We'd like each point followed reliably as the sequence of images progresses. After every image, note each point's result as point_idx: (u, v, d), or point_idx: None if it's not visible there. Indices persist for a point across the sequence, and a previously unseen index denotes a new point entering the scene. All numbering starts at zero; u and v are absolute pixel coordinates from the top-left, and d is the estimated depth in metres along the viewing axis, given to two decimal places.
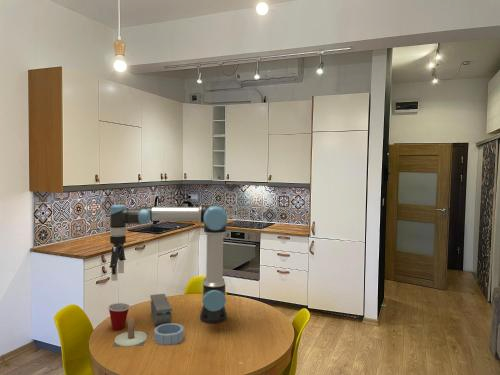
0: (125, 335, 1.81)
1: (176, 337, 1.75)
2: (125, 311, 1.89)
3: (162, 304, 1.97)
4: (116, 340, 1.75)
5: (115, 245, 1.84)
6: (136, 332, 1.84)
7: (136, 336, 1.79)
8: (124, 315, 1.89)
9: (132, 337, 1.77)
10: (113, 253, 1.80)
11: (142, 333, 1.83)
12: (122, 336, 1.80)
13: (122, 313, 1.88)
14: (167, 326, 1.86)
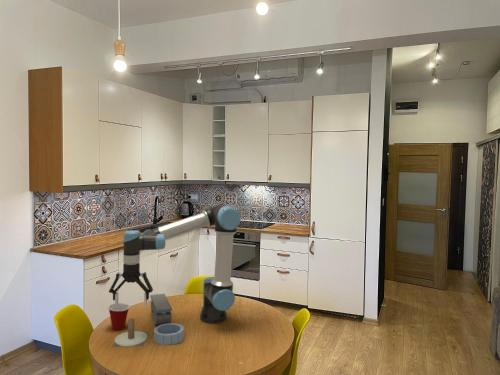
0: (125, 335, 1.81)
1: (176, 337, 1.75)
2: (125, 311, 1.89)
3: (162, 304, 1.97)
4: (116, 340, 1.75)
5: None
6: (136, 332, 1.84)
7: (136, 336, 1.79)
8: (124, 315, 1.89)
9: (132, 337, 1.77)
10: None
11: (142, 333, 1.83)
12: (122, 336, 1.80)
13: (122, 313, 1.88)
14: (167, 326, 1.86)
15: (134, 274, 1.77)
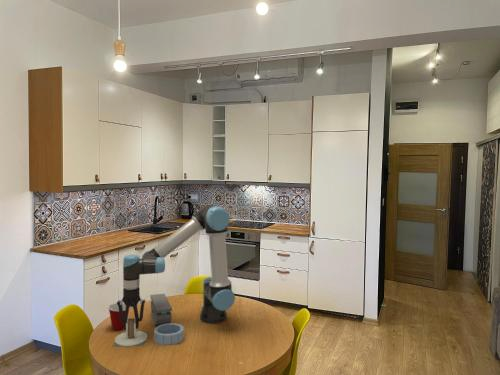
0: (125, 335, 1.81)
1: (176, 337, 1.75)
2: None
3: (162, 304, 1.97)
4: (116, 340, 1.75)
5: None
6: None
7: (136, 336, 1.80)
8: (124, 315, 1.89)
9: (132, 337, 1.77)
10: None
11: (142, 333, 1.83)
12: (122, 336, 1.80)
13: None
14: (167, 326, 1.86)
15: (135, 297, 1.77)
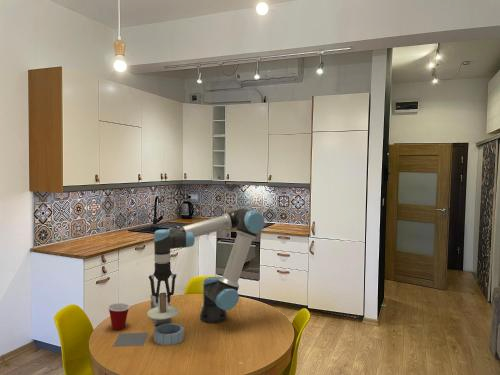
0: (157, 309, 1.83)
1: (176, 337, 1.75)
2: (125, 311, 1.89)
3: None
4: (149, 314, 1.77)
5: None
6: None
7: (168, 310, 1.81)
8: (124, 315, 1.89)
9: (164, 311, 1.79)
10: None
11: (173, 307, 1.85)
12: (154, 310, 1.81)
13: (122, 313, 1.88)
14: (167, 326, 1.86)
15: (166, 271, 1.78)
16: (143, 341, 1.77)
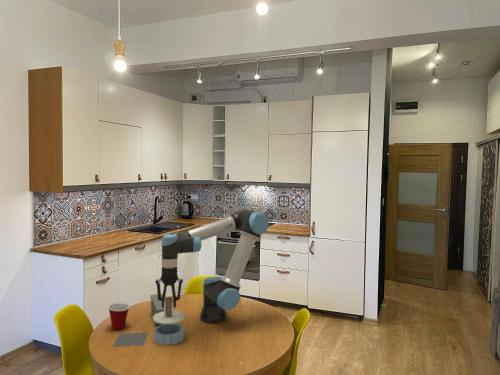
0: (162, 314, 1.82)
1: (176, 337, 1.75)
2: (125, 311, 1.89)
3: None
4: (154, 318, 1.77)
5: None
6: None
7: (174, 315, 1.81)
8: (124, 315, 1.89)
9: (170, 316, 1.79)
10: (157, 286, 1.79)
11: (179, 312, 1.85)
12: (159, 315, 1.81)
13: (122, 313, 1.88)
14: (167, 326, 1.86)
15: (173, 276, 1.78)
16: (143, 341, 1.77)
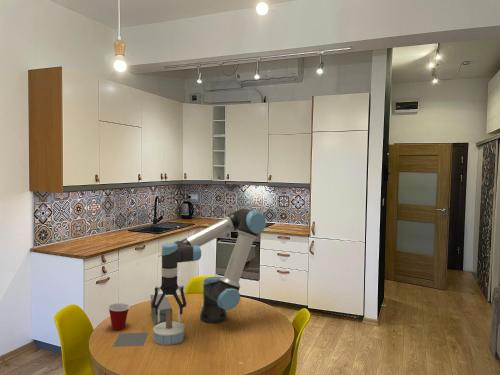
0: (163, 325, 1.83)
1: (176, 337, 1.75)
2: (125, 311, 1.89)
3: (162, 304, 1.97)
4: (155, 330, 1.77)
5: (161, 285, 1.79)
6: (173, 322, 1.86)
7: (174, 326, 1.81)
8: (124, 315, 1.89)
9: (170, 327, 1.79)
10: (155, 293, 1.79)
11: (179, 323, 1.85)
12: (160, 326, 1.81)
13: (122, 313, 1.88)
14: None
15: (172, 286, 1.79)
16: (143, 341, 1.77)
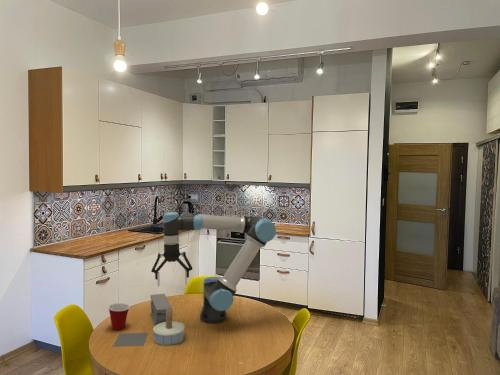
0: (163, 325, 1.83)
1: (176, 337, 1.75)
2: (125, 311, 1.89)
3: (162, 304, 1.97)
4: (155, 330, 1.77)
5: (164, 252, 1.85)
6: (173, 322, 1.86)
7: (174, 326, 1.81)
8: (124, 315, 1.89)
9: (170, 327, 1.79)
10: None
11: (179, 323, 1.85)
12: (160, 326, 1.81)
13: (122, 313, 1.88)
14: None
15: (175, 253, 1.85)
16: (143, 341, 1.77)
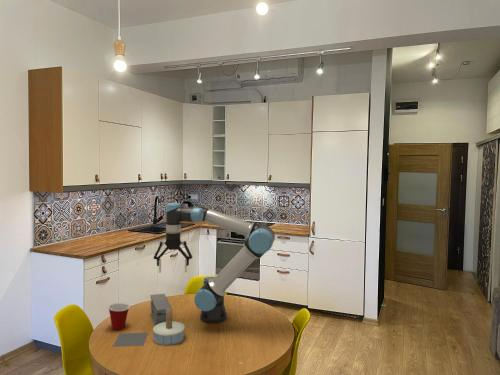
0: (163, 325, 1.83)
1: (176, 337, 1.75)
2: (125, 311, 1.89)
3: (162, 304, 1.97)
4: (155, 330, 1.77)
5: (166, 240, 1.96)
6: (173, 322, 1.86)
7: (174, 326, 1.81)
8: (124, 315, 1.89)
9: (170, 327, 1.79)
10: (159, 246, 1.95)
11: (179, 323, 1.85)
12: (160, 326, 1.81)
13: (122, 313, 1.88)
14: None
15: (176, 242, 1.95)
16: (143, 341, 1.77)
